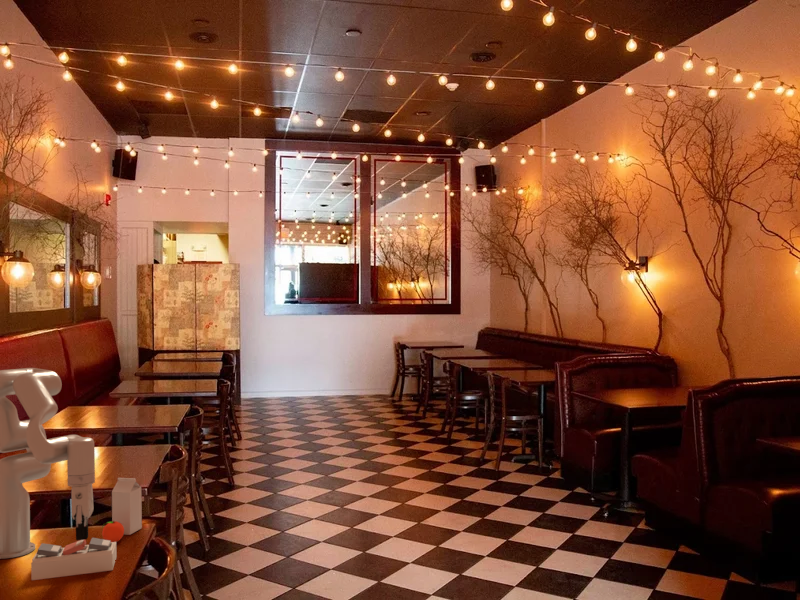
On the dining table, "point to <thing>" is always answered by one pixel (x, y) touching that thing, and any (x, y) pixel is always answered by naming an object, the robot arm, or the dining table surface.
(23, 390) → the robot arm
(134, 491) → the milk carton
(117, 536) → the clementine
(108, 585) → the dining table surface
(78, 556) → the rocker switch panel
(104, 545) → the plate
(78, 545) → the rocker mid
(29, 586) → the dining table surface
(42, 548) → the rocker
